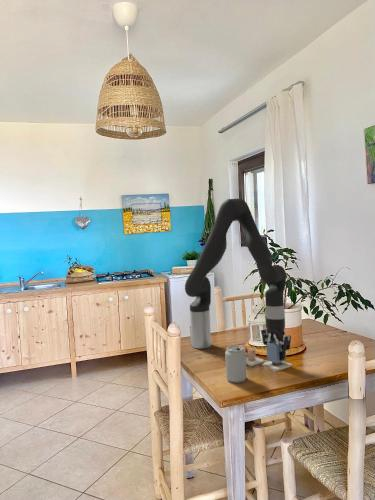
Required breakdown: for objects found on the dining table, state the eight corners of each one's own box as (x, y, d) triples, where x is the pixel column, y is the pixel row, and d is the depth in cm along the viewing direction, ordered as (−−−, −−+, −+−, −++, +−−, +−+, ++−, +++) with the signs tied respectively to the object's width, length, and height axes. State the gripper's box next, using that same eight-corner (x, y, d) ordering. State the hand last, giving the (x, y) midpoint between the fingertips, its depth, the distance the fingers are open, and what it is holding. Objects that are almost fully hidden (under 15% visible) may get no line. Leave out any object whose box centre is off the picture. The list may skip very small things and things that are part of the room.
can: (248, 382, 141) (247, 350, 140) (228, 384, 141) (226, 351, 140) (244, 374, 149) (242, 343, 148) (224, 376, 148) (223, 345, 147)
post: (262, 365, 157) (261, 348, 157) (276, 360, 162) (275, 344, 161) (277, 371, 150) (276, 353, 150) (291, 366, 155) (290, 348, 154)
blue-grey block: (267, 359, 157) (266, 343, 156) (276, 356, 159) (275, 340, 159) (276, 363, 152) (276, 346, 152) (286, 360, 155) (285, 343, 155)
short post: (239, 361, 163) (239, 350, 163) (252, 357, 167) (251, 346, 166) (251, 366, 157) (251, 354, 157) (264, 361, 161) (263, 350, 161)
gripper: (255, 314, 158) (256, 355, 160) (282, 321, 147) (283, 365, 148) (268, 311, 163) (269, 351, 164) (295, 317, 151) (297, 360, 152)
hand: (276, 357), depth 156 cm, fingers open, 5 cm apart
